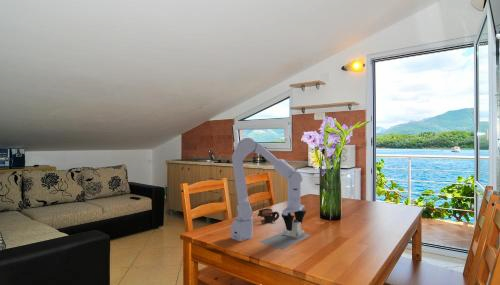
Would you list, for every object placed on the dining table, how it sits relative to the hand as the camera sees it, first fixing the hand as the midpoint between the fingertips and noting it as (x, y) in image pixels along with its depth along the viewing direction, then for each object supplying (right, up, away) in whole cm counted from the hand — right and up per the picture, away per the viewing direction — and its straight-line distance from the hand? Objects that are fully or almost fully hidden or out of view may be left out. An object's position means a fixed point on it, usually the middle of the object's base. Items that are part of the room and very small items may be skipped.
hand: (293, 228), depth 132 cm
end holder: (0, -4, 0) cm, 4 cm away
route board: (-4, -4, -4) cm, 7 cm away
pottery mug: (-10, -4, +24) cm, 26 cm away
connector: (+1, -3, 0) cm, 3 cm away
